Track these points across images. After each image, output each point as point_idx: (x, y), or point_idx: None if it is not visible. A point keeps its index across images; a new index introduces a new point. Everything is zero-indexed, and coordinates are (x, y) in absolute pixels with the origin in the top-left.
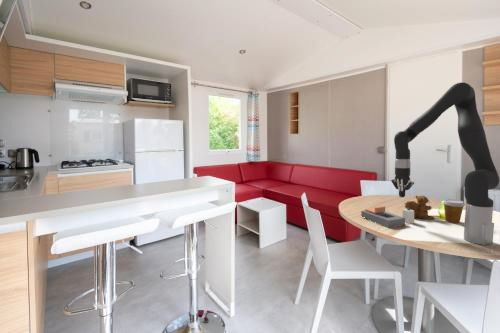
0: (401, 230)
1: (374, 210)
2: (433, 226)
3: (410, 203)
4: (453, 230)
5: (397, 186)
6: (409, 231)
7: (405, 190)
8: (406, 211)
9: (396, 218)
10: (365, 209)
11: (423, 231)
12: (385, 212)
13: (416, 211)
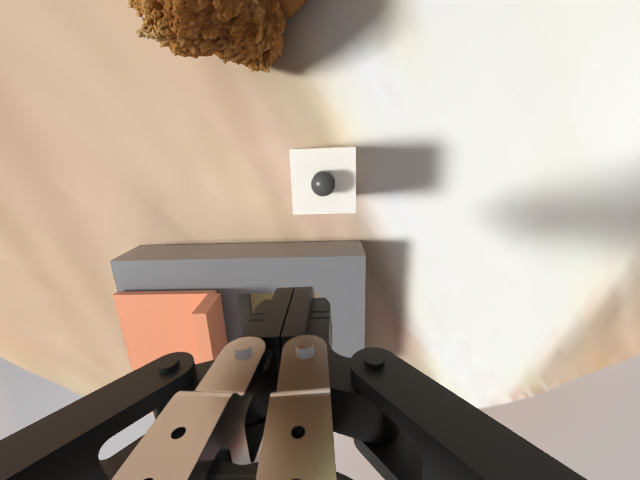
0: (417, 328)
1: (177, 338)
2: (459, 91)
3: (196, 9)
4: (575, 35)
5: (126, 397)
6: (446, 304)
7: (342, 365)
8: (329, 211)
9: (351, 315)
10: (137, 368)
11: (483, 237)
12: (214, 277)
13: (274, 14)
